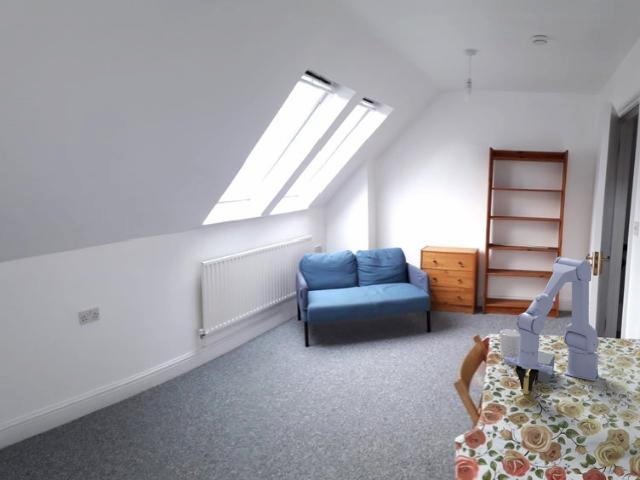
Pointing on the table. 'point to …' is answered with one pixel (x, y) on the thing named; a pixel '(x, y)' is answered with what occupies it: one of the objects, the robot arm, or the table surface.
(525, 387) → the yellow rectangular block
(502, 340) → the white cup
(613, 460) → the table surface
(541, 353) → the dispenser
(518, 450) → the table surface
